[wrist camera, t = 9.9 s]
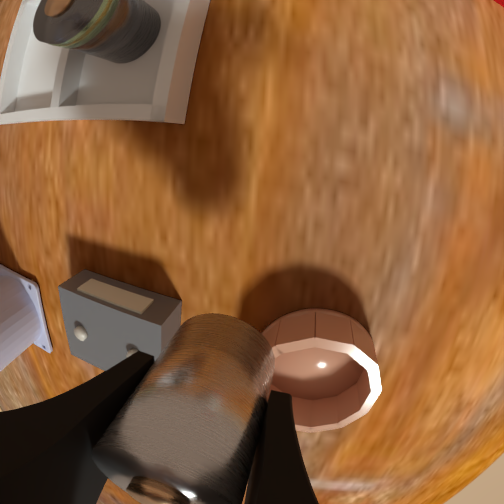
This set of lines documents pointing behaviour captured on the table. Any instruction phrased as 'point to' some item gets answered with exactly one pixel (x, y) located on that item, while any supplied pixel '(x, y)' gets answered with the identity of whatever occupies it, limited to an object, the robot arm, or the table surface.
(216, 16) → the table surface
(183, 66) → the tray
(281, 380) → the pink bowl
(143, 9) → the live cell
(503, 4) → the kitchen timer
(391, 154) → the table surface
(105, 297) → the grey box with knobs
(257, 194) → the table surface
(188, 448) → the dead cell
